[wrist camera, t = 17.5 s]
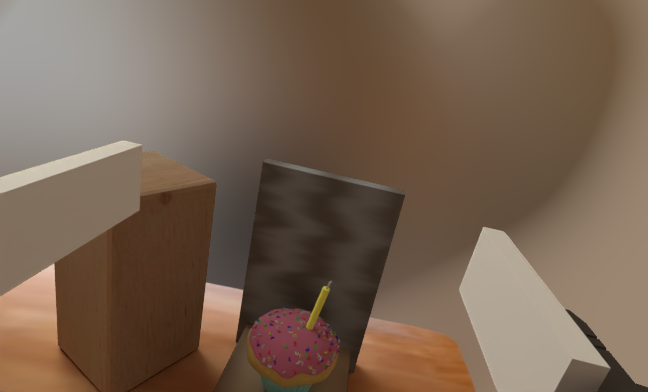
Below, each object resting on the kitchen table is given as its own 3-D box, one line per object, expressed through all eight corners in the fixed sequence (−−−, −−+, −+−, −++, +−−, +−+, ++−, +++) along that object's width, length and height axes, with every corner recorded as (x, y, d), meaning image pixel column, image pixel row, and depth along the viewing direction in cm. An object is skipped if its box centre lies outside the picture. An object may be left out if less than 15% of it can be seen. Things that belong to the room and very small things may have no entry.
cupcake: (332, 359, 41) (357, 262, 37) (323, 432, 33) (355, 317, 28) (254, 341, 41) (270, 242, 37) (226, 408, 33) (244, 291, 29)
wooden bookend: (173, 463, 31) (197, 216, 23) (240, 333, 46) (267, 158, 38) (343, 511, 30) (423, 271, 22) (353, 363, 45) (403, 190, 38)
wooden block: (200, 349, 42) (219, 180, 36) (108, 405, 34) (111, 200, 27) (147, 305, 47) (155, 149, 40) (56, 345, 39) (46, 159, 32)
